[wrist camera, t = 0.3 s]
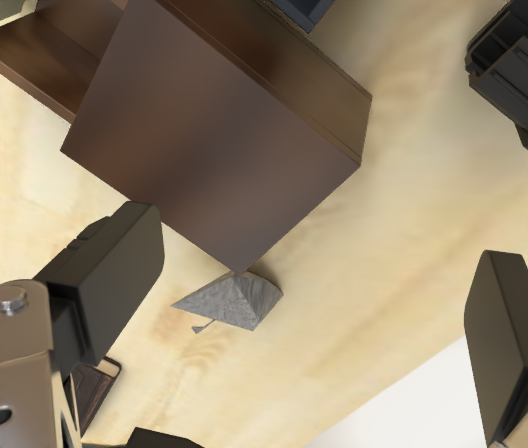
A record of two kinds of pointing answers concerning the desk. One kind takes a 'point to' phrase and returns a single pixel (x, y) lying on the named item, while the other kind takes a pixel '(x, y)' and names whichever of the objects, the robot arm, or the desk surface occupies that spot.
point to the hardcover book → (92, 388)
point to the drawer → (57, 48)
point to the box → (304, 11)
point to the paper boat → (233, 300)
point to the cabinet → (219, 122)
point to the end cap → (503, 64)
